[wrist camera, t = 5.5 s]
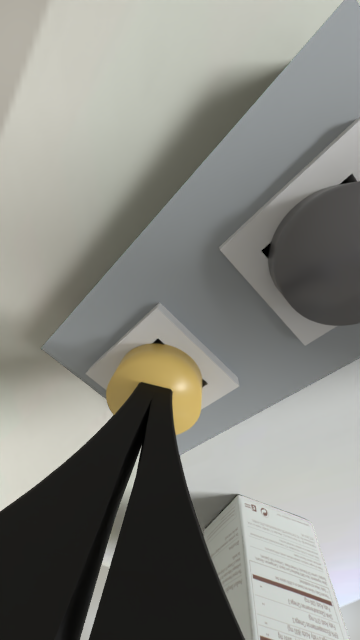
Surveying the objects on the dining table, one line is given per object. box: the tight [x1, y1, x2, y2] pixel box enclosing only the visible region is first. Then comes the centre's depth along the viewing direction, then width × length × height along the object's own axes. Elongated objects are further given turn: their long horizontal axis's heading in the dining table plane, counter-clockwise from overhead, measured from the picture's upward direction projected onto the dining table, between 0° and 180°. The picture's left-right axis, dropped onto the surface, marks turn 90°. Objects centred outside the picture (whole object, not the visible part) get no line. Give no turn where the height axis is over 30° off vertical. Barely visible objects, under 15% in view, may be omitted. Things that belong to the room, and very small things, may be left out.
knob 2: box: [268, 181, 360, 326], centre depth 9 cm, size 4×4×5 cm
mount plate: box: [41, 0, 360, 455], centre depth 11 cm, size 10×16×4 cm, turn 135°
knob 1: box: [106, 339, 202, 435], centre depth 12 cm, size 4×4×5 cm
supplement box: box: [204, 495, 350, 640], centre depth 16 cm, size 7×7×13 cm
